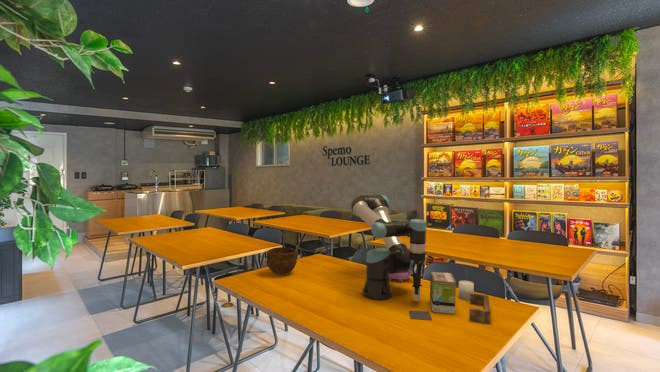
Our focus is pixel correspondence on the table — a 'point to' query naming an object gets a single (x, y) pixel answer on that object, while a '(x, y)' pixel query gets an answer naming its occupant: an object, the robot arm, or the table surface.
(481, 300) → the display bay
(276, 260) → the bowl
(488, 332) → the table surface
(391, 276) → the teapot
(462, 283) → the cream domed cylinder
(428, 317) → the rubber coaster
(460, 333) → the table surface
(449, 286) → the tea box
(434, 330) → the table surface
